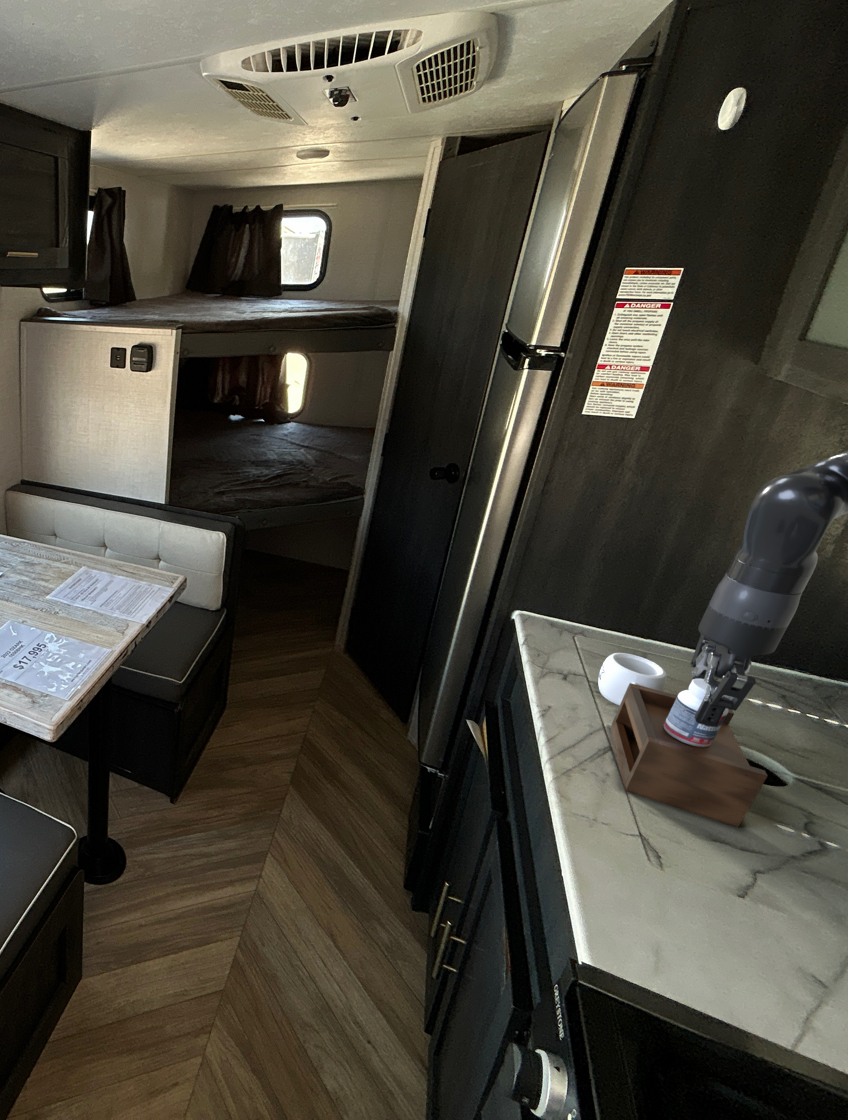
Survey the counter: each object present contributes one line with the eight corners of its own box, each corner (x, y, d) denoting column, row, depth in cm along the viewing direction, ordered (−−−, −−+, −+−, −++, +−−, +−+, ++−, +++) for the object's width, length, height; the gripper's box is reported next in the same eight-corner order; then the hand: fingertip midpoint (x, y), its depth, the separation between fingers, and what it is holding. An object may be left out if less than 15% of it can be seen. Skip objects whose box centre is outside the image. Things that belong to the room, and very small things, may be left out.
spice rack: (705, 760, 100) (731, 709, 96) (736, 831, 87) (767, 776, 83) (608, 731, 106) (629, 682, 102) (624, 793, 93) (648, 740, 89)
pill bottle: (690, 750, 91) (716, 700, 87) (653, 725, 95) (675, 677, 92) (721, 746, 91) (747, 696, 88) (682, 722, 96) (705, 674, 93)
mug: (592, 680, 119) (607, 644, 116) (652, 699, 114) (669, 662, 111) (590, 712, 110) (605, 675, 107) (654, 734, 105) (672, 695, 102)
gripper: (809, 644, 78) (750, 751, 84) (769, 597, 89) (720, 694, 95) (726, 626, 81) (675, 730, 88) (697, 583, 93) (654, 678, 99)
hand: (699, 711), depth 92 cm, fingers closed on pill bottle, 5 cm apart
